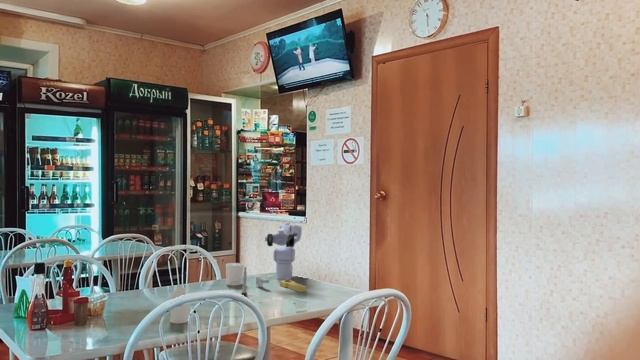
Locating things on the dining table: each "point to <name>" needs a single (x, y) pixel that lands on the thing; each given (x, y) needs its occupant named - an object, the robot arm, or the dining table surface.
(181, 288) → the roll
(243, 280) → the tow hook
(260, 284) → the keeper
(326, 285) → the dining table surface
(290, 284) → the link
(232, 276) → the white cup
